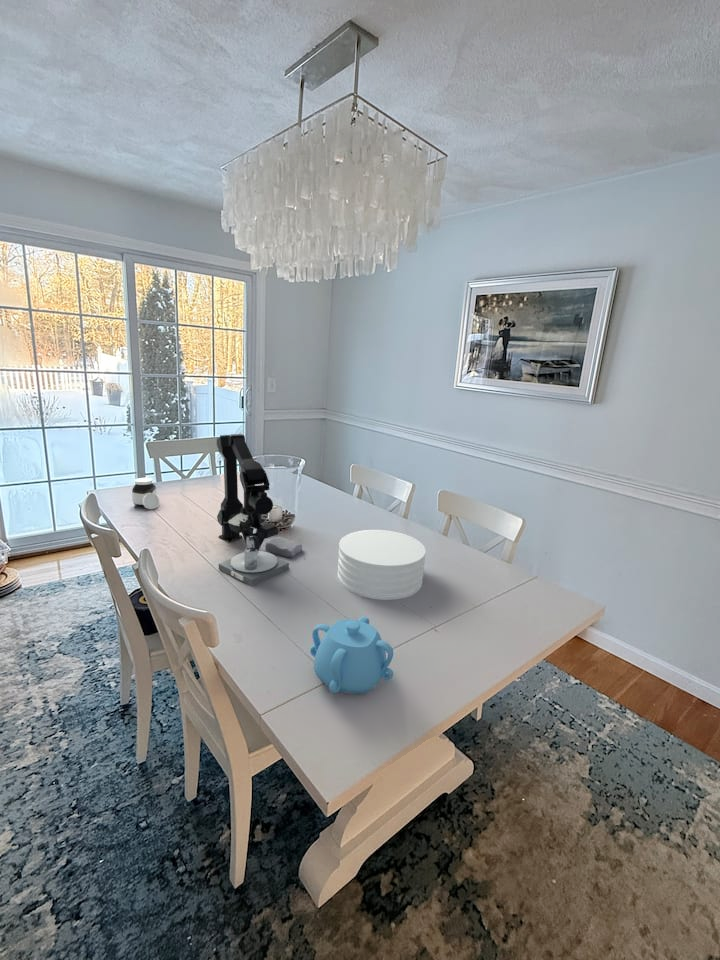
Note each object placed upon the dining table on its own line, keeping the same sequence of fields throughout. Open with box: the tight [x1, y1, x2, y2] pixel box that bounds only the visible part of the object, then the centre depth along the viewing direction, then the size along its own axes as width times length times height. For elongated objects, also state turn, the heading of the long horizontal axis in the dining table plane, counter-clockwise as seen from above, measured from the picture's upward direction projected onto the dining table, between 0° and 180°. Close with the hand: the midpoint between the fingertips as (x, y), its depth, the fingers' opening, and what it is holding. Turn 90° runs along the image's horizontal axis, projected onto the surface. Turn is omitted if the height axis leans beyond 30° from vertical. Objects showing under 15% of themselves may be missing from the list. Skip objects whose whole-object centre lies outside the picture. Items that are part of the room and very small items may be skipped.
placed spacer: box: [243, 548, 257, 570], centre depth 142 cm, size 4×4×6 cm
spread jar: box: [131, 477, 160, 510], centre depth 197 cm, size 12×11×12 cm
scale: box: [218, 549, 290, 586], centre depth 148 cm, size 16×17×3 cm
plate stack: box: [337, 529, 427, 601], centre depth 147 cm, size 28×28×12 cm
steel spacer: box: [245, 532, 260, 554], centre depth 150 cm, size 4×4×6 cm
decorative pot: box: [309, 616, 394, 696], centre depth 100 cm, size 16×16×14 cm
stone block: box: [264, 536, 303, 558], centre depth 164 cm, size 12×5×10 cm
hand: (252, 548), depth 150 cm, fingers closed on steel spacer, 4 cm apart
